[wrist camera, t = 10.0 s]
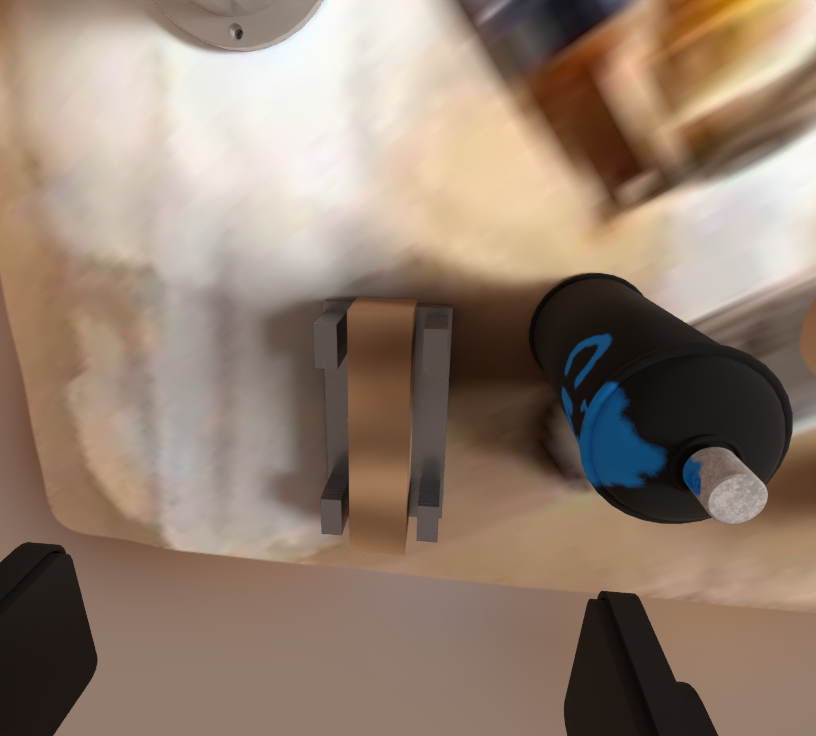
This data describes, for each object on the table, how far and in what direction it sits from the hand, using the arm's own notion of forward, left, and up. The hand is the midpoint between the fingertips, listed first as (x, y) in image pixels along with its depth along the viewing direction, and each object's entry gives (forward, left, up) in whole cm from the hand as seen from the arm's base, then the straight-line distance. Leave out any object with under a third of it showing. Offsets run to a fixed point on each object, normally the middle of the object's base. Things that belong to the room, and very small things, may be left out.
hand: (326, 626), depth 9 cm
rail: (+9, -2, -27) cm, 29 cm away
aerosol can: (+2, +12, -29) cm, 31 cm away
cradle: (+9, -2, -28) cm, 30 cm away
